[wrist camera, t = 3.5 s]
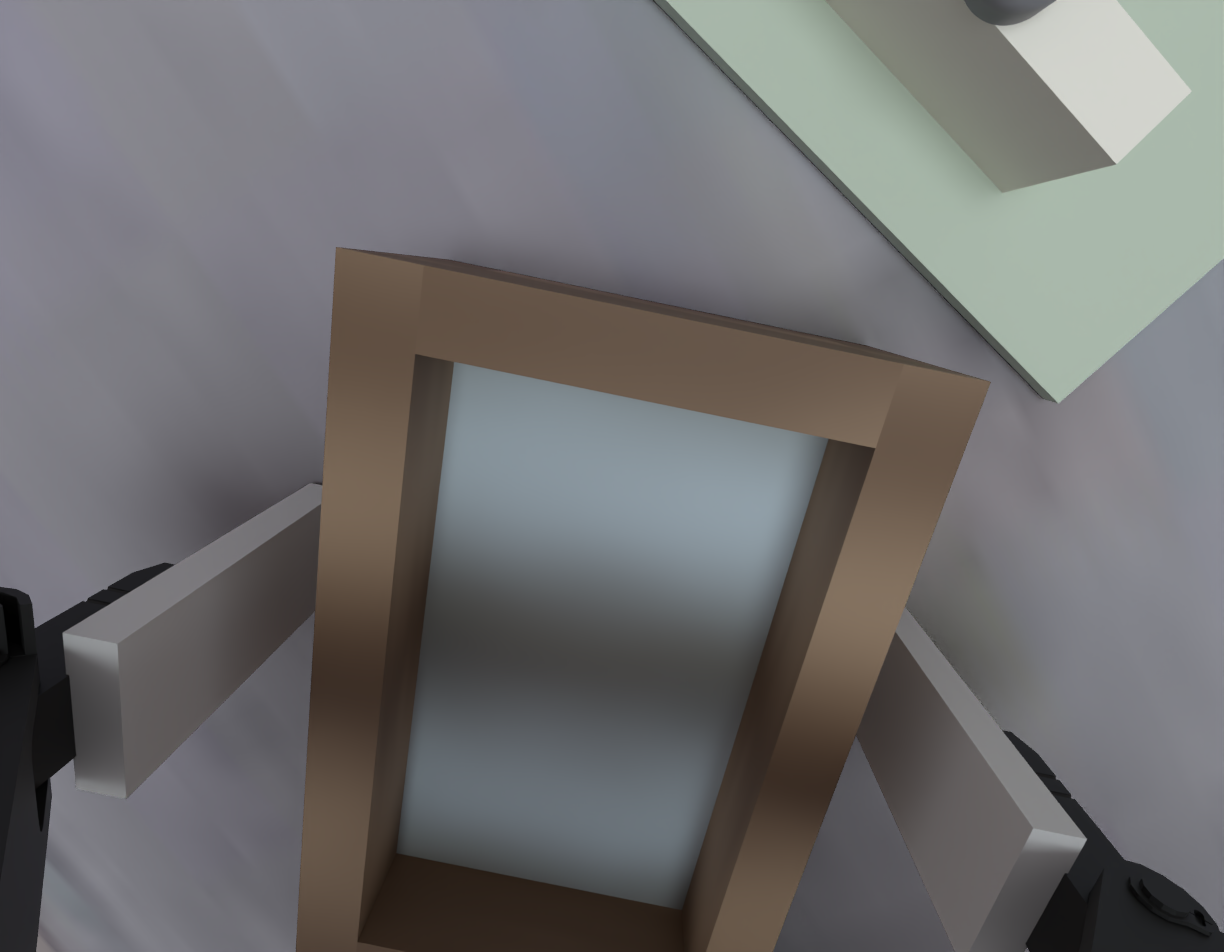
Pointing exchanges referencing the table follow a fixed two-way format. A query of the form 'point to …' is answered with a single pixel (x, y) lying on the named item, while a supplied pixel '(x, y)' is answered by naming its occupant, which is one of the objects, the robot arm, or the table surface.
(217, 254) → the table surface
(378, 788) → the brown wooden open box
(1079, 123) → the wall board
